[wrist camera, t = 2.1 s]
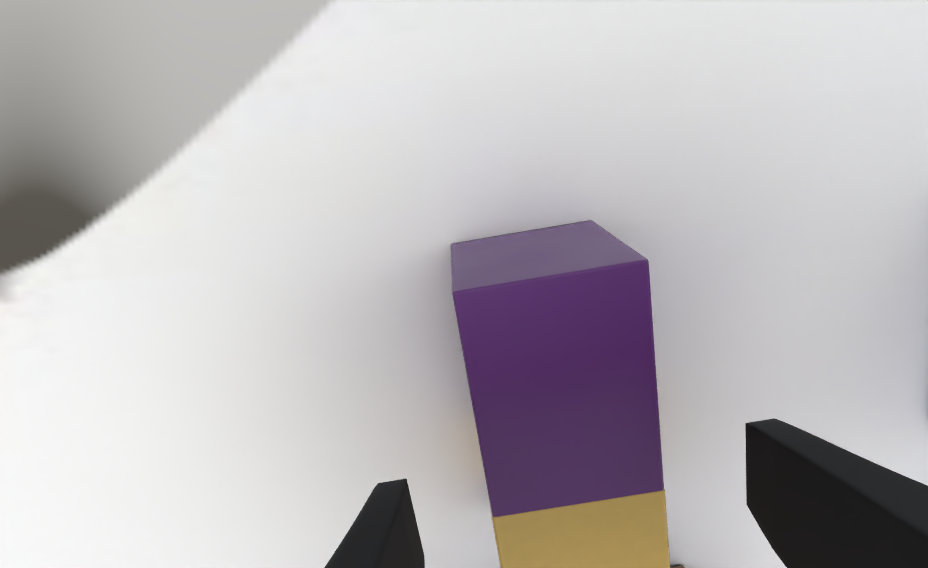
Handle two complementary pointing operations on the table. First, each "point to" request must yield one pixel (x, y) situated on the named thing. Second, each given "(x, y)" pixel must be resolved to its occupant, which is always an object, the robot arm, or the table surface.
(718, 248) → the table surface
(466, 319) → the chocolate bar
